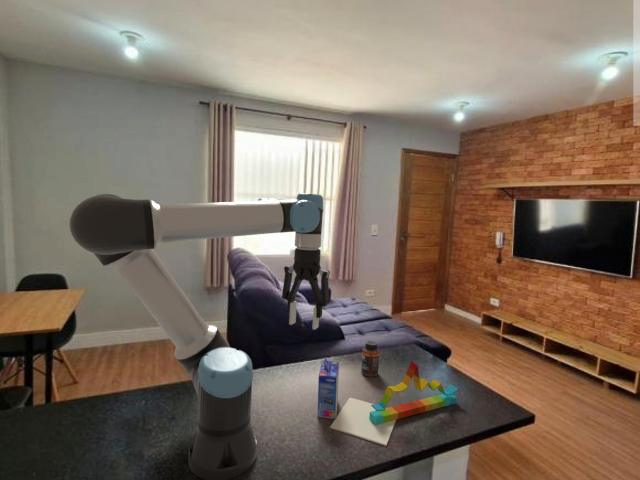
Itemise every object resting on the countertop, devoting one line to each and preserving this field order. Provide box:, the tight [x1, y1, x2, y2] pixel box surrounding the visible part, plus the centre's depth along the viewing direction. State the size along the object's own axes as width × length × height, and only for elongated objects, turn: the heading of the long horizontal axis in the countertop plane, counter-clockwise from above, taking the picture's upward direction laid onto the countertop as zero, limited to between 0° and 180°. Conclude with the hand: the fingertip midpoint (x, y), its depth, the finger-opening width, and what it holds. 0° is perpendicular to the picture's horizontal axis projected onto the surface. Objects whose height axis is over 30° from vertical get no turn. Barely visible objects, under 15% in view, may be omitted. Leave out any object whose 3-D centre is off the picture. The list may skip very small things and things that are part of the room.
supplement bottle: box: [360, 340, 380, 377], centre depth 124 cm, size 6×6×11 cm
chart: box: [369, 361, 459, 425], centre depth 101 cm, size 30×3×15 cm, turn 117°
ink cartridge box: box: [317, 357, 340, 420], centre depth 101 cm, size 10×6×14 cm, turn 174°
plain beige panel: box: [329, 397, 397, 447], centre depth 97 cm, size 15×16×1 cm
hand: (303, 325), depth 103 cm, fingers open, 7 cm apart
